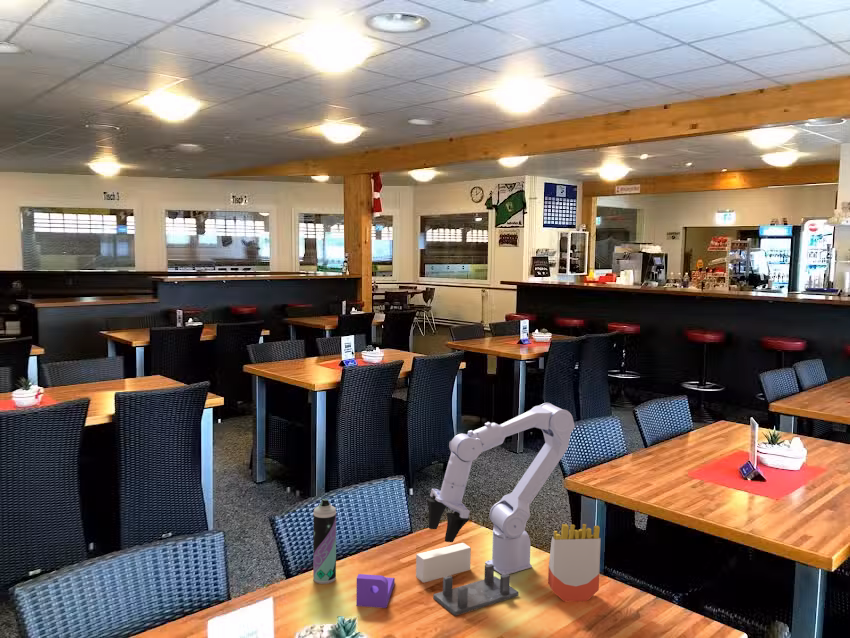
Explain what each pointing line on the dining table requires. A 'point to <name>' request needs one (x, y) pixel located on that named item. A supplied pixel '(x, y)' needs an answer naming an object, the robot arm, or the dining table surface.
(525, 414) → the robot arm
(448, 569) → the block
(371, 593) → the bracket
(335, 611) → the dining table surface
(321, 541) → the spray can
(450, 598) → the grey tray
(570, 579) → the french fries container
